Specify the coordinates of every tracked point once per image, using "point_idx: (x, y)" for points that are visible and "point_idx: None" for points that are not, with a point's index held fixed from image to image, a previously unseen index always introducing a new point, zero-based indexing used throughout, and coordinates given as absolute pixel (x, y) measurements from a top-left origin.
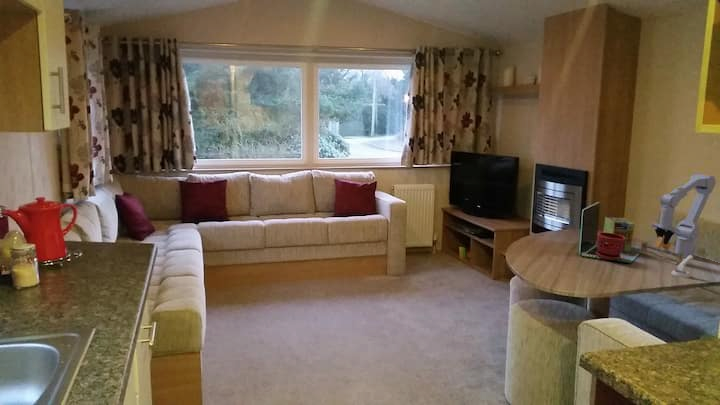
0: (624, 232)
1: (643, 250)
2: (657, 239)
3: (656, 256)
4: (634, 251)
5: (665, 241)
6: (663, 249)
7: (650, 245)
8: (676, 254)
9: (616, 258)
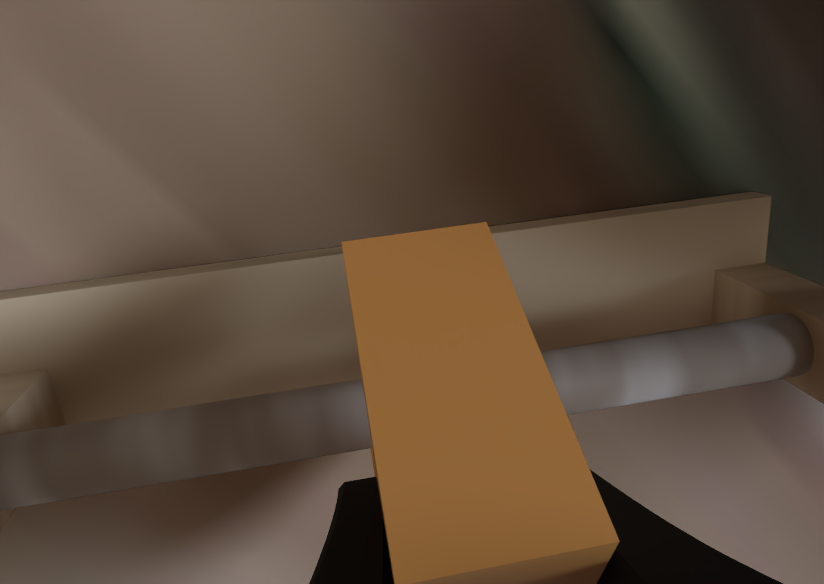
0: None
1: (728, 273)
2: (554, 413)
3: None
4: (810, 167)
5: (327, 546)
6: None
7: (706, 375)
8: (10, 452)
9: None
